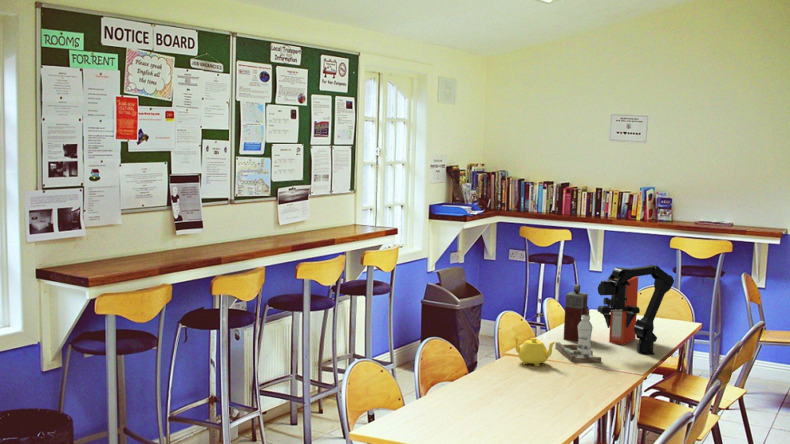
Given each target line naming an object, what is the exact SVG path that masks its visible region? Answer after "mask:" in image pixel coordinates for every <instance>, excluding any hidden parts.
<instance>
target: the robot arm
mask: <svg viewBox="0 0 790 444" xmlns="http://www.w3.org/2000/svg"><path fill="white" fill-rule="evenodd" d="M649 275H651V277H652V279H654V283H653V287H654V290H653V293H652V296H651V297H650V300H649V302H648V305H647V307H646V309H645V312H644V314H643V317H641V319H638V318H636V324H635V326H634V327H635V328H634V332H635V334H636V337H635V338H636V339H638V341H637V345H636V346H637V347H636V352H638V353H639V354H641V355H655V352H654V343H656V342H657V339H658V336H657V335H656V334H655V332H654V329H655V326H654V321H655V318H656V317H657V313H658V312H659V309H660V306H661V304H662V302H663V300H664V297H665V295H666V294H667V293H668V292H669V291H670V290H671V289H672V287H673V285H674V284H675V283H674V282H675V279H674V277H673V276H672V275H670V274H668V272H666V271H664V270H663V269H662V268H660V266H658V265H655V264H649V265H643V266H638V267H637V266H635V267H629V268H628V267H618V266H617V267H614V268H613V270H612V272H611V273H610V275H609V276H608V278H607V280H601V281H600V283H599V284H598V286H597V293H598V295H600V296H611V295H613V296H612V297H611V298H610V297H603V305H598V306H597V312H598V313H600V314H601V315H602V316H603V317H604V319H605V324H606V326H607V329H610V320H611V314H610V313H611V312H614V311H627V312H626V328H628V326H629V324H630V322H631V321H632V319H633V318H634V316H635V315H637V316H638V314H640V307H639V306H638V305H637V306H634V305H627V307H626V306H625V301H626V300H627V298H626V285H631V284H630V283H629V282H628V281H627V280H630V279H631V278H633V277H644V276H649ZM615 279H617V280H615ZM611 307H612V308H611ZM615 309H617V310H615ZM621 309H622V310H621ZM636 313H637V314H636Z"/></svg>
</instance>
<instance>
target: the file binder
mask: <svg viewBox="0 0 790 444" xmlns="http://www.w3.org/2000/svg"><path fill="white" fill-rule="evenodd" d="M615 280H617V279H615ZM627 281H628V282H629V283H630V284H631V285H626V298H627V300H626V301H625V306H626V307H627V305H634V306H637V307H638V293H639V292H638V291H639V276H637V277H633V278H631V279H630V280H627ZM610 296H611V297H612V296H613V295H610ZM610 308H612V307H610ZM615 310H617V309H615ZM621 310H622V309H621ZM626 312H627V311H614V312H610V313H609V314H611V320H610V327H609V340H608V343H611V344H616V345H617V344H618V345H623V346H624V345H626V344H627V343H630V342H631V341H633V340H635V339H636V338H637V337H636V334H635V332H634V328H635V327H634V326H635V324H636V321H637V317H638V313H636V314H637V315H635V316H634V318H633V319H632V321H631V322H630V324H629V326H628V328H626Z"/></svg>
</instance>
